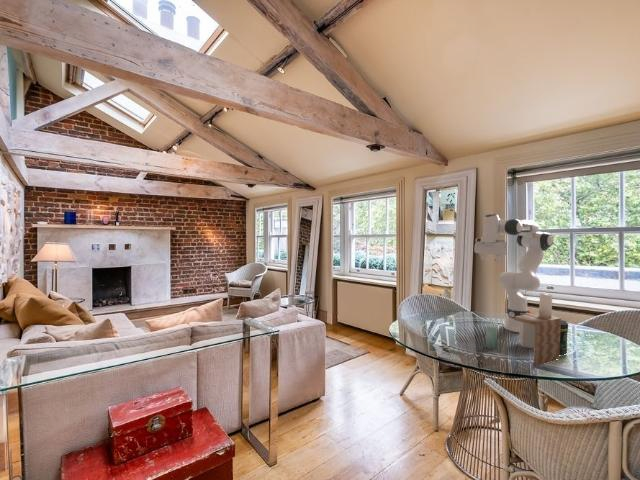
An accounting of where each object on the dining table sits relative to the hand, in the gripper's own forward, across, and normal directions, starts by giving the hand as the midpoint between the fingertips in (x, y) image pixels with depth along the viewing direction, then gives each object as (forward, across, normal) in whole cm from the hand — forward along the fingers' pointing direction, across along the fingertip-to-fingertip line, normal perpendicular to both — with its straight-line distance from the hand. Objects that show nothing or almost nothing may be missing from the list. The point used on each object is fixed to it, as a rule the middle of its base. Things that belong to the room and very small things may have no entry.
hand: (489, 261), depth 202 cm
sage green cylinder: (+48, -15, +17) cm, 53 cm away
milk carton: (+48, -22, -6) cm, 53 cm away
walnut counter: (+48, -35, +9) cm, 60 cm away
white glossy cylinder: (+26, -36, +4) cm, 45 cm away
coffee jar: (+48, -36, -9) cm, 61 cm away
